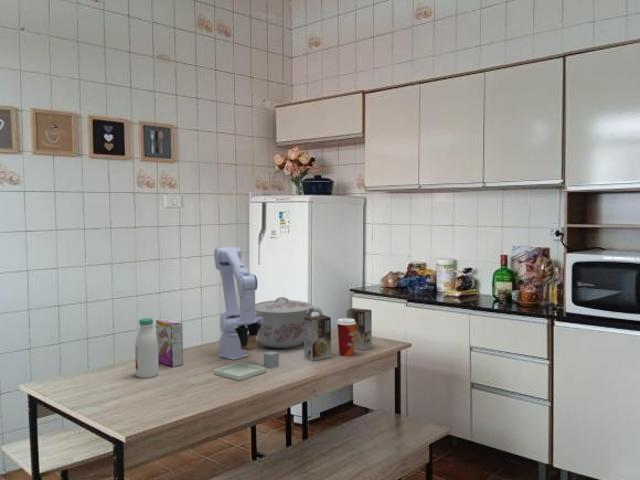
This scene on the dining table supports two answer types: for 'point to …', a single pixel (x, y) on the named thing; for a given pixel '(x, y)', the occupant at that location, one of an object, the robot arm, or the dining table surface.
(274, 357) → the grey block
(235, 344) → the robot arm
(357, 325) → the coffee box
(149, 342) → the milk bottle
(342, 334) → the paper cup
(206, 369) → the dining table surface
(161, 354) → the candy bar box
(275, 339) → the chamber pot
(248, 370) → the tray
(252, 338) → the walnut block
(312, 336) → the coffee box
